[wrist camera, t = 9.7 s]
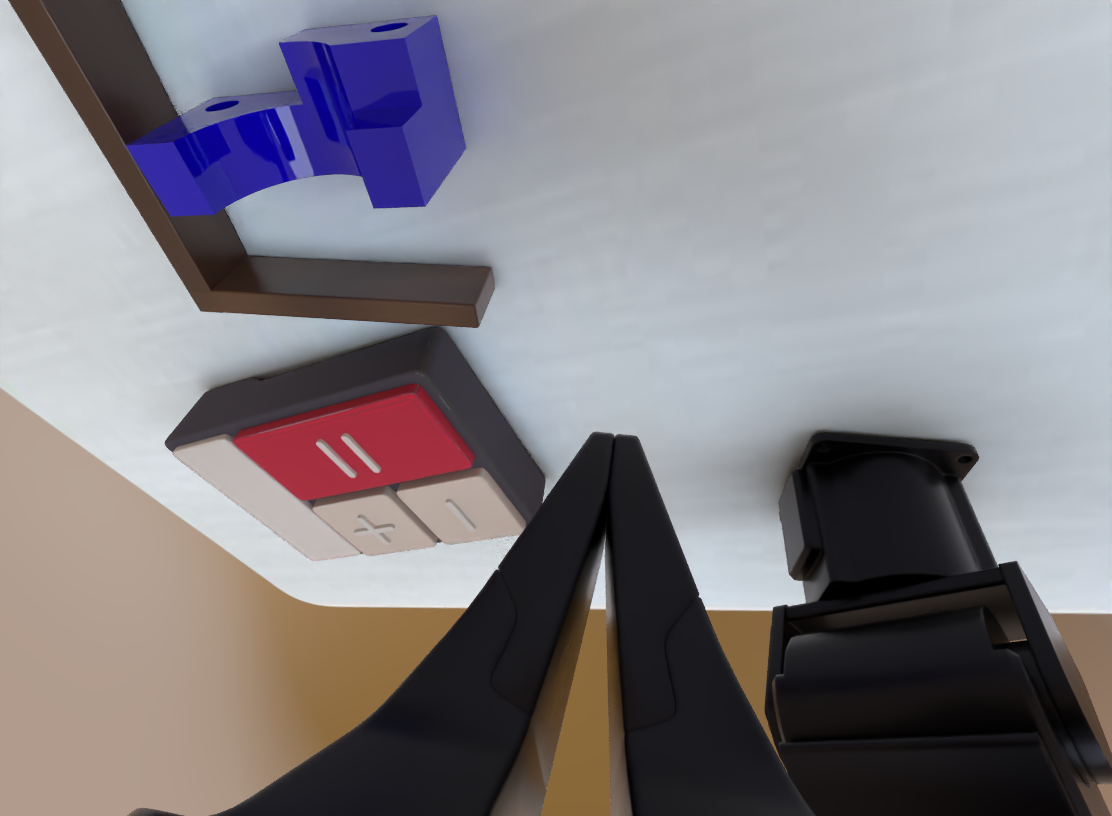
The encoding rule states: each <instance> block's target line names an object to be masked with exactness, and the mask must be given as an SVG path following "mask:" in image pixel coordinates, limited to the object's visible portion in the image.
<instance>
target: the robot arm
mask: <svg viewBox="0 0 1112 816" xmlns="http://www.w3.org/2000/svg"><path fill="white" fill-rule="evenodd" d="M978 459H979V456H978V453H977V451H976V449H975V447H973V446H972V445H968V444H956V443H944V442H932V441H920V440H908V439H895V438H883V437H871V436H859V435H847V434H834V433H819V434H816V435H814V436H813V437H812V438H811V439H810V441H809V444H808V446H807V448H806V451H805V453H804V455H803V457H802V460H801V462H800V464H799V467H798V468H796V469H795V470H793V471H792V472H791V474H790V476H789V478H788V481H787V483H786V486H785V488H784V490H783V493H782V495H781V497H780V500H779V509H780V511H779V515H780V520H781V523H782V530H783V536H784V543H785V550H786V557H787V564H788V571H789V575H790V576H791V577H792V578H793V579H794V580H799V581H803V587H804V593H805V599H806V603H805V604H799V605H794V606H787V605H782V606H776V607H773V614H772V626H771V633H770V645H769V658H768V671H767V684H766V697H765V715H766V718H767V720H768V725H769V729H770V731H771V734H772V737H773V740H774V744H775V746H776V749H777V751H778V754H779V757H780V759H781V760H782V762H783V764H784V766H785V768H786V770H787V772H788V773H787V772H786V770H785V768H784V766H783V764H782V763H781V761H780V759H779V757H778V755H777V754H776V752H775V750H774V748H773V746H772V744H771V742H770V740H769V739H768V737H767V735H766V733H765V731H764V729H763V727H762V726H761V724H760V722H759V720H758V718H757V716H756V714H755V712H754V710H753V709H752V707H751V705H750V703H749V701H748V699H747V697H746V695H745V693H744V692H743V690H742V688H741V686H740V684H739V682H738V680H737V678H736V676H735V674H734V672H733V670H732V668H731V667H730V664H729V662H728V660H727V658H726V656H725V654H724V652H723V650H722V648H721V646H720V643H719V641H718V639H717V636H716V634H715V631H714V629H713V627H712V624H711V622H710V620H709V617H708V615H707V612H706V610H705V607H704V604H703V602H702V599H701V598H699V592H698V590H697V587H696V584H695V582H694V579H693V577H692V574H691V572H690V569H689V566H688V564H687V561H686V559H685V556H684V554H683V551H682V548H681V546H680V543H679V541H678V538H677V536H676V533H675V530H674V528H673V525H672V523H671V520H670V518H669V515H668V512H667V510H666V507H665V505H664V502H663V500H662V497H661V494H660V492H659V489H658V487H657V484H656V482H655V479H654V476H653V474H652V471H651V469H650V466H649V464H648V461H647V458H646V456H645V453H644V451H643V448H642V446H641V443H640V440H639V439H638V437H637V436H633V435H623V434H618V435H616V436H614V435H613V434H612V433H603V432H593V433H592V434H591V435H590V436H589V438H588V439H587V440H586V442H585V443H584V445H583V446H582V448H581V449H580V450H579V452H578V453H577V455H576V456H575V458H574V459H573V460H572V462H571V463H570V465H569V466H568V468H567V469H566V470H565V472H564V473H563V475H562V476H561V478H560V479H559V480H558V482H557V483H556V485H555V486H554V488H553V489H552V490H551V492H550V493H549V495H548V496H547V498H546V499H545V500H544V502H543V503H542V505H541V506H540V508H539V509H538V510H537V512H536V513H535V515H534V516H533V518H532V519H531V520H530V522H529V523H528V525H527V526H526V528H525V529H524V530H523V532H522V533H521V535H520V536H519V538H518V539H517V540H516V542H515V543H514V545H513V546H512V547H511V549H510V550H509V552H508V553H507V555H506V556H505V557H504V559H503V560H502V562H501V563H500V565H499V566H498V569H499V570H495V571H494V573H493V574H492V576H491V577H490V579H489V580H488V581H487V583H486V584H485V586H484V587H483V588H482V590H481V591H480V592H479V594H478V595H477V596H476V598H475V599H474V600H473V602H472V603H471V604H470V606H469V607H468V608H467V610H466V611H465V612H464V613H463V615H462V616H461V617H460V618H459V619H458V620H457V622H456V623H455V624H454V625H453V626H452V628H451V629H450V630H449V631H448V632H447V634H446V635H445V636H444V637H443V638H442V639H441V640H440V641H439V642H438V644H437V645H436V646H435V647H434V648H433V649H432V650H431V651H430V653H429V654H428V655H427V656H426V657H425V658H424V659H423V661H421V663H420V664H419V665H418V666H417V667H416V668H415V669H414V670H413V672H412V673H411V674H410V675H409V676H408V677H407V678H406V679H405V680H404V682H403V683H402V684H401V685H400V686H399V687H398V688H397V689H396V690H395V692H394V693H393V694H392V695H391V696H390V697H389V698H388V699H387V700H386V701H385V702H384V703H383V704H382V705H381V706H380V707H379V708H378V709H377V710H376V711H375V712H374V713H373V714H371V715H370V716H369V717H368V718H367V719H366V720H365V721H363V722H362V723H361V724H359V725H358V726H357V727H355V728H354V729H353V730H351V731H350V732H348V733H347V734H345V735H344V736H342V737H341V738H339V739H338V740H336V741H335V742H333V743H332V744H330V745H329V746H327V747H326V748H324V749H323V750H321V751H320V752H318V753H317V754H315V755H314V756H312V757H310V758H309V759H308V760H306V761H305V762H303V763H302V764H300V765H298V766H297V767H295V768H294V769H292V770H291V771H289V772H288V773H286V774H285V775H283V776H282V777H280V778H279V779H277V780H276V781H274V782H273V783H271V784H270V785H268V786H267V787H265V788H264V789H262V790H261V791H259V792H258V793H256V794H255V795H253V796H252V797H250V798H249V799H247V800H245V801H244V802H242V803H240V804H238V805H237V806H235V807H233V808H231V809H228V810H226V811H223V812H221V813H218V814H215V815H210V816H541V811H542V807H543V803H544V799H545V795H546V787H547V786H548V781H549V778H550V773H551V769H552V765H553V761H554V756H555V752H556V748H557V744H558V740H559V736H560V731H561V727H562V723H563V718H564V714H565V710H566V706H567V702H568V698H569V693H570V689H571V685H572V681H573V677H574V672H575V668H576V664H577V660H578V655H579V651H580V647H581V643H582V638H583V634H584V630H585V626H586V621H587V617H588V613H589V609H590V605H591V601H592V596H593V592H594V588H595V584H596V580H597V575H598V571H599V567H600V563H601V559H602V554H603V549H604V543H605V580H606V625H607V669H608V670H607V671H608V711H609V712H608V716H609V759H610V798H611V803H610V806H611V816H1111V814H1110V812H1109V810H1108V808H1107V806H1106V803H1105V801H1104V799H1103V797H1102V794H1101V792H1100V790H1099V788H1098V786H1097V784H1112V753H1111V751H1110V748H1109V745H1108V743H1107V741H1106V738H1105V735H1104V733H1103V730H1102V727H1101V725H1100V722H1099V720H1098V717H1097V715H1096V712H1095V710H1094V707H1093V704H1092V702H1091V699H1090V697H1089V694H1088V691H1087V689H1086V686H1085V684H1084V682H1083V679H1082V677H1081V675H1080V673H1079V671H1078V669H1077V667H1076V665H1075V663H1074V661H1073V659H1072V657H1071V655H1070V653H1069V651H1068V649H1067V647H1066V645H1065V643H1064V641H1063V639H1062V637H1061V635H1060V633H1059V630H1058V628H1057V626H1056V625H1055V622H1054V620H1053V619H1052V617H1051V615H1050V613H1049V612H1048V610H1047V608H1046V607H1045V605H1044V604H1043V602H1042V600H1041V599H1040V597H1039V596H1038V594H1037V592H1036V591H1035V589H1034V588H1033V586H1032V584H1031V583H1030V581H1029V580H1028V578H1027V576H1026V575H1025V573H1024V572H1023V570H1022V568H1021V567H1020V565H1019V564H1018V562H1017V561H1013V562H1008V563H1003V564H998V565H999V567H998V565H997V563H996V561H995V558H994V556H993V554H992V551H991V549H990V547H989V545H988V542H987V540H986V538H985V535H984V533H983V531H982V529H981V526H980V524H979V522H978V519H977V517H976V515H975V512H974V510H973V508H972V506H971V503H970V501H969V499H968V496H967V494H966V492H965V490H964V487H963V485H962V483H961V481H962V480H963V479H964V477H965V476H966V475H967V474H968V472H969V471H970V470H971V469H972V467H973V466H974V465H975V464H976V462H977V461H978ZM605 536H606V540H605ZM1020 639H1027V640H1026V641H1019V642H1010V641H1013V640H1020ZM127 816H183V815H178V814H174V813H169V812H164V811H160V810H154V809H148V808H139V809H136V810H134V811H133V812H131V813H130V814H129V815H127Z"/></svg>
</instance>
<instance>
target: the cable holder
mask: <svg viewBox="0 0 1112 816" xmlns="http://www.w3.org/2000/svg"><path fill="white" fill-rule="evenodd" d="M279 45H280V48H281V50H282V53H283V55H284V58H285V60H286V63H287V65H288V68H289V70H290V73H291V76H292V78H293V81H294V83H295V86H296V88H297V91H287V92H275V93H264V94H252V95H240V96H229V97H217V98H212V99H210V100H208V101H206V102H205V103H203V104H201V105H199V106H197V107H195V108H194V109H192V110H190V111H188V112H186V113H184V114H183V115H181V116H179V117H177V118H175V119H173V120H172V121H170V122H168V123H166V124H164V125H162V126H161V127H159V128H157V129H155V130H153V131H151V132H150V133H148V134H146V135H144V136H142V137H140V138H139V139H137V140H135V141H133V142H131V143H129V144H128V145H126V147H127V149H128V150H129V152H130V153H131V155H132V156H133V158H134V160H135V161H136V163H137V164H138V166H139V167H140V169H141V171H142V172H143V174H144V175H145V177H146V178H147V180H148V182H149V183H150V185H151V186H152V188H153V189H154V191H155V192H156V194H157V196H158V197H159V199H160V200H161V202H162V203H163V205H164V207H165V208H166V210H167V211H168V213H169V214H170V216H193V215H215V214H216V213H218V212H219V211H220V210H222V209H223V208H225V207H227V206H228V205H230V204H232V203H233V202H235V201H237V200H239V199H241V198H243V197H245V196H247V195H250V194H252V193H254V192H257V191H259V190H262V189H265V188H268V187H271V186H274V185H277V184H280V183H284V182H288V181H292V180H296V179H301V178H306V177H312V176H319V175H332V174H346V175H356V176H361V177H363V180H364V183H365V186H366V189H367V191H368V194H369V197H370V200H371V202H372V205H373V208H400V207H425V206H426V205H427V204H428V202H429V201H430V199H431V198H432V196H433V195H434V194H435V192H436V191H437V189H438V188H439V186H440V185H441V184H442V182H443V181H444V179H445V178H446V176H447V175H448V174H449V172H450V171H451V169H452V168H453V167H454V165H455V164H456V162H457V161H458V159H459V158H460V157H461V155H462V154H463V152H464V151H465V149H466V146H465V142H464V137H463V133H462V128H461V124H460V119H459V114H458V110H457V105H456V101H455V96H454V92H453V87H452V83H451V78H450V73H449V69H448V64H447V60H446V55H445V51H444V46H443V42H442V37H441V32H440V28H439V23H438V19H437V15H434V16H425V17H415V18H406V19H397V20H388V21H379V22H370V23H361V24H351V25H342V26H333V27H324V28H315V29H306V30H303V31H301V32H299V33H297V34H295V35H293V36H291V37H289V38H287V39H285V40H283V41H281V42H279Z"/></svg>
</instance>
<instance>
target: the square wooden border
mask: <svg viewBox="0 0 1112 816" xmlns="http://www.w3.org/2000/svg"><path fill="white" fill-rule="evenodd" d="M8 1H9V2H10V4H11V5H12V7H13V9H14V10H15V12H16V13H17V15H18V17H19V18H20V20H21V22H22V23H23V25H24V26H25V28H26V30H27V31H28V33H29V35H30V36H31V38H32V39H33V41H34V43H35V44H36V46H37V47H38V49H39V51H40V52H41V54H42V56H43V57H44V59H45V60H46V62H47V64H48V65H49V67H50V68H51V70H52V72H53V73H54V75H55V77H56V78H57V80H58V81H59V83H60V85H61V86H62V88H63V89H64V91H65V93H66V94H67V96H68V98H69V99H70V101H71V102H72V104H73V106H74V107H75V109H76V110H77V112H78V114H79V115H80V117H81V119H82V120H83V122H84V123H85V125H86V127H87V128H88V130H89V132H90V133H91V135H92V136H93V138H94V140H95V141H96V143H97V144H98V146H99V148H100V149H101V151H102V153H103V154H104V156H105V157H106V159H107V161H108V162H109V164H110V165H111V167H112V169H113V170H114V172H115V174H116V175H117V177H118V178H119V180H120V182H121V183H122V185H123V186H124V188H125V190H126V191H127V193H128V195H129V196H130V198H131V199H132V201H133V203H134V204H135V206H136V207H137V209H138V211H139V212H140V214H141V216H142V217H143V219H144V220H145V222H146V224H147V225H148V227H149V229H150V230H151V232H152V233H153V235H154V237H155V238H156V240H157V241H158V243H159V245H160V246H161V248H162V250H163V251H164V253H165V254H166V256H167V258H168V259H169V261H170V262H171V264H172V266H173V267H174V269H175V271H176V272H177V274H178V275H179V277H180V279H181V280H182V282H183V283H184V285H185V287H186V288H187V290H188V292H189V293H190V295H191V296H192V298H193V300H194V301H195V303H196V304H197V306H198V308H199V309H200V311H204V312H220V313H223V312H227V313H243V314H260V315H276V316H292V317H309V318H325V319H341V320H358V321H374V322H390V323H407V324H423V325H439V326H456V327H472V328H478V327H479V325H480V323H481V321H482V318H483V316H484V313H485V311H486V309H487V306H488V304H489V301H490V299H491V297H492V294H493V292H494V289H495V287H494V280H493V273H492V268H491V267H475V266H452V265H430V264H407V263H385V262H363V261H340V260H318V259H295V258H273V257H251V256H247V254H246V252H245V250H244V248H243V246H242V244H241V242H240V240H239V238H238V236H237V234H236V232H235V230H234V228H233V226H232V224H231V222H230V220H229V218H228V216H227V214H226V212H225V210H224V208H223V209H222V210H220V211H219V212H218V213H216V214H215V215H193V216H170V214H169V213H168V211H167V210H166V208H165V207H164V205H163V203H162V202H161V200H160V199H159V197H158V196H157V194H156V192H155V191H154V189H153V188H152V186H151V185H150V183H149V182H148V180H147V178H146V177H145V175H144V174H143V172H142V171H141V169H140V167H139V166H138V164H137V163H136V161H135V160H134V158H133V156H132V155H131V153H130V152H129V150H128V149H127V147H126V145H128V144H129V143H131V142H133V141H135V140H137V139H139V138H140V137H142V136H144V135H146V134H148V133H150V132H151V131H153V130H155V129H157V128H159V127H161V126H162V125H164V124H166V123H168V122H170V121H172V120H173V119H175V118H177V117H178V116H177V114H176V112H175V110H174V108H173V106H172V104H171V102H170V100H169V98H168V96H167V94H166V92H165V90H164V88H163V86H162V84H161V82H160V80H159V78H158V76H157V74H156V72H155V70H154V68H153V66H152V64H151V62H150V60H149V58H148V56H147V54H146V52H145V50H144V48H143V46H142V44H141V42H140V40H139V38H138V36H137V34H136V32H135V30H134V28H133V26H132V24H131V22H130V20H129V18H128V16H127V14H126V12H125V10H124V8H123V6H122V4H121V2H120V0H8Z"/></svg>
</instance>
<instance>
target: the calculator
mask: <svg viewBox="0 0 1112 816" xmlns="http://www.w3.org/2000/svg"><path fill="white" fill-rule="evenodd" d="M165 446H166V447H167V448H168V449H169V450H170V451H172V452H173V455H174V456H175V457H176V458H177V459H178V460H179V461H181V462H182V463H183V464H185V465H186V466H187V467H189V468H190V469H191V470H192V471H194V472H195V473H196V474H198V475H199V476H200V477H202V478H203V479H204V480H206V481H207V482H208V483H210V484H211V485H212V486H214V487H215V488H216V489H217V490H219V491H220V492H221V493H223V494H224V495H225V496H227V497H228V498H229V499H231V500H232V501H233V502H235V503H236V504H237V505H238V506H240V507H241V508H242V509H244V510H245V511H246V512H248V513H249V514H250V515H252V516H253V517H254V518H256V519H257V520H258V521H260V522H261V523H262V524H263V525H265V526H266V527H267V528H269V529H270V530H271V531H273V532H274V533H275V534H277V535H278V536H279V537H281V538H282V539H283V540H284V541H286V542H287V543H288V544H290V545H291V546H292V547H294V548H295V549H296V550H298V551H299V552H300V553H302V554H303V555H304V556H306V557H307V558H308V559H310V560H312V561H320V560H326V559H333V558H340V557H347V556H354V555H359V554H365V555H367V556H373V555H380V554H387V553H394V552H401V551H409V550H416V549H423V548H430V547H434V546H435V545H436V543H438V542H444V543H445V544H458V543H465V542H472V541H479V540H486V539H493V538H500V537H507V536H514V535H520V534H521V533H522V532H523V530H524V529H525V528H526V526H527V525H528V523H529V522H530V520H531V519H532V518H533V516H534V515H535V513H536V512H537V510H538V509H539V508H540V506H541V505H542V501H543V494H544V488H545V478H544V476H543V475H542V473H541V472H540V470H539V469H538V467H537V466H536V464H535V463H534V462H533V460H532V459H531V457H530V456H529V454H528V453H527V451H526V450H525V448H524V447H523V445H522V444H521V442H520V441H519V439H518V438H517V436H516V435H515V433H514V432H513V430H512V429H511V427H510V426H509V424H508V423H507V421H506V420H505V418H504V417H503V415H502V414H501V413H500V411H499V410H498V408H497V407H496V405H495V404H494V402H493V401H492V399H491V398H490V396H489V395H488V393H487V392H486V390H485V389H484V387H483V386H482V384H481V383H480V381H479V380H478V378H477V377H476V375H475V374H474V372H473V371H472V369H471V368H470V366H469V365H468V364H467V362H466V361H465V359H464V358H463V356H462V355H461V353H460V352H459V350H458V349H457V347H456V346H455V344H454V343H453V341H452V340H451V338H450V337H449V335H448V334H447V333H446V332H445V331H444V330H443V329H441V328H438V327H433V328H429V329H426V330H422V331H419V332H416V333H413V334H410V335H406V336H403V337H400V338H397V339H394V340H390V341H387V342H384V343H381V344H378V345H374V346H371V347H368V348H365V349H362V350H358V351H355V352H352V353H349V354H345V355H342V356H339V357H336V358H333V359H329V360H326V361H323V362H320V363H317V364H313V365H310V366H307V367H304V368H301V369H297V370H294V371H291V372H288V373H285V374H281V375H278V376H275V377H272V378H268V379H265V380H262V381H260V380H258V379H256V378H253V377H252V378H249V379H245V380H242V381H239V382H236V383H233V384H229V385H226V386H223V387H220V388H217V389H214V390H211V391H208V392H205V393H204V394H203V396H202V397H201V398H200V399H199V400H198V401H197V403H196V404H195V405H194V406H193V408H192V409H191V410H190V411H189V412H188V414H187V415H186V416H185V417H184V418H183V420H182V421H181V422H180V423H179V425H178V426H177V427H176V428H175V429H174V431H173V432H172V433H171V434H170V435H169V437H168V438H167V439H166V441H165Z"/></svg>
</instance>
